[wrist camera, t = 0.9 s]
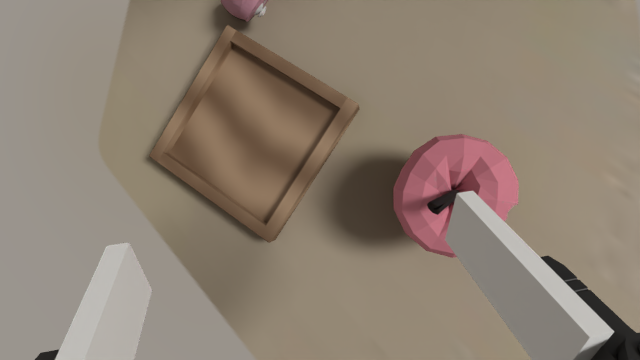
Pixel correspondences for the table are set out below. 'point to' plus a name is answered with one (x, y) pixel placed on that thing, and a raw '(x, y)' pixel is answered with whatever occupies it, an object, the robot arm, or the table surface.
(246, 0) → the video game controller
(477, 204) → the robot arm
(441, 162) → the apple
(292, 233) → the table surface
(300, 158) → the walnut tray
